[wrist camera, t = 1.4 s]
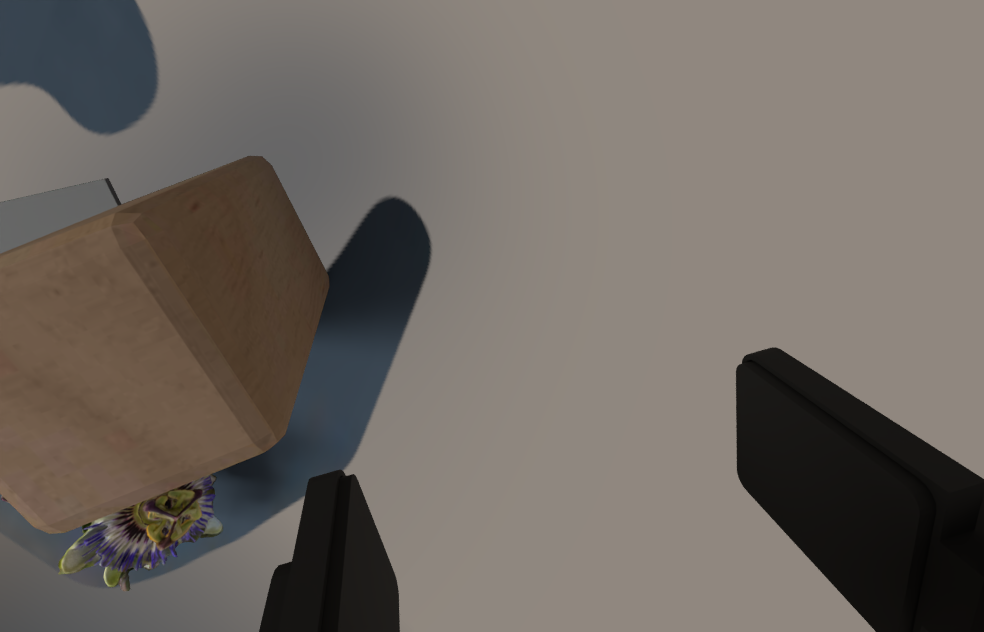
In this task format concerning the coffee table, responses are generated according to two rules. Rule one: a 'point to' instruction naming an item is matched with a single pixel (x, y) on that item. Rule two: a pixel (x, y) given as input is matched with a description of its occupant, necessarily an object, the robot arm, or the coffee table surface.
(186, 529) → the passion flower
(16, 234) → the rubber mat
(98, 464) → the block
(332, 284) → the coffee table surface
